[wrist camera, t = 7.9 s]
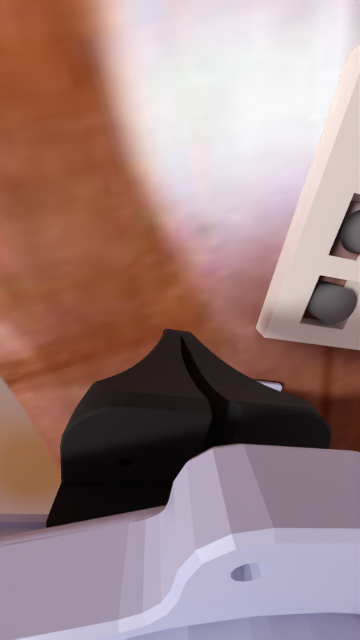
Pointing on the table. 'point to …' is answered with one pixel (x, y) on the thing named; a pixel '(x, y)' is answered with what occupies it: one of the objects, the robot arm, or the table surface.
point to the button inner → (331, 302)
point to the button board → (321, 228)
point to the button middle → (351, 233)
